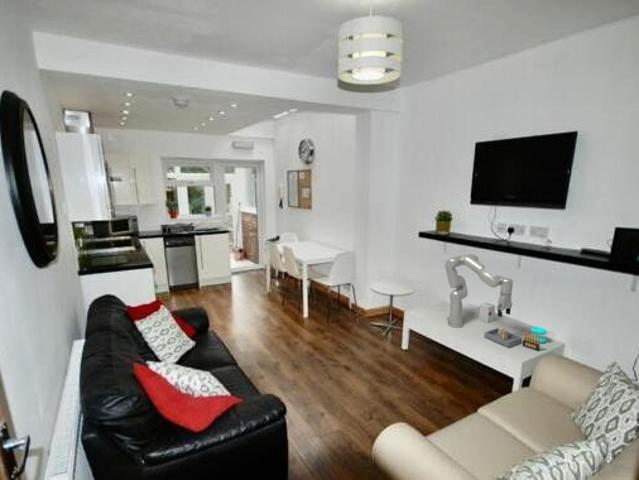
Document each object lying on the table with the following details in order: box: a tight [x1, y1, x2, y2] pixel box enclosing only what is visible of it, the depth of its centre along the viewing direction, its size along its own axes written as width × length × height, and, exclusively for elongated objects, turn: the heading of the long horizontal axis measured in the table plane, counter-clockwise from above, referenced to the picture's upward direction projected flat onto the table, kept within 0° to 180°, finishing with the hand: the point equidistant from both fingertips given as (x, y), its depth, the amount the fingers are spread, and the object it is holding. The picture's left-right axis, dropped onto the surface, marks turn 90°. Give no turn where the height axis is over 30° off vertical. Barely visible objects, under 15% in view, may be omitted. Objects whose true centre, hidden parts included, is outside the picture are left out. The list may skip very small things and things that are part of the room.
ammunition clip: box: [521, 330, 541, 352], centre depth 245 cm, size 11×2×12 cm, turn 39°
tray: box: [483, 327, 523, 349], centre depth 258 cm, size 20×16×4 cm
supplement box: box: [478, 302, 496, 324], centre depth 294 cm, size 9×9×15 cm
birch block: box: [498, 327, 509, 340], centre depth 258 cm, size 4×4×8 cm
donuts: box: [530, 326, 548, 344], centre depth 255 cm, size 10×10×10 cm
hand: (503, 315), depth 255 cm, fingers open, 9 cm apart
